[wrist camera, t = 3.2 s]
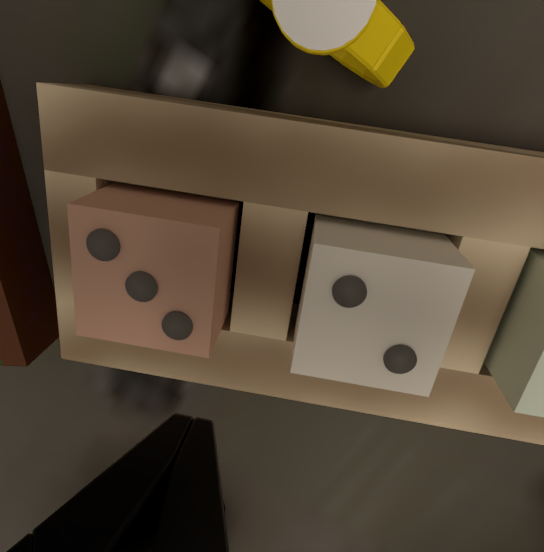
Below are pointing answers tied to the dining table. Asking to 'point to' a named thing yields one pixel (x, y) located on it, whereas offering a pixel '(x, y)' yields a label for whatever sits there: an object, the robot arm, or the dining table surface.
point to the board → (300, 233)
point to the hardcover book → (21, 262)
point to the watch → (347, 34)
